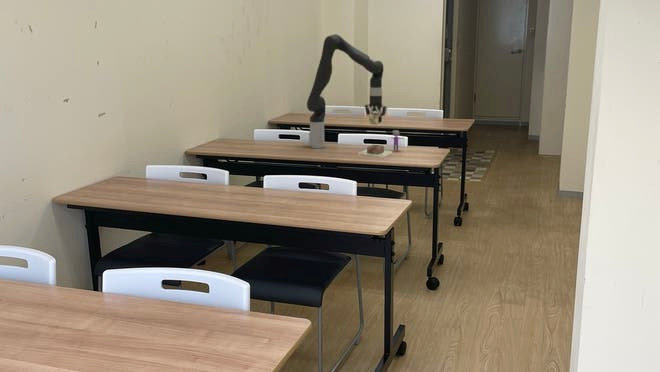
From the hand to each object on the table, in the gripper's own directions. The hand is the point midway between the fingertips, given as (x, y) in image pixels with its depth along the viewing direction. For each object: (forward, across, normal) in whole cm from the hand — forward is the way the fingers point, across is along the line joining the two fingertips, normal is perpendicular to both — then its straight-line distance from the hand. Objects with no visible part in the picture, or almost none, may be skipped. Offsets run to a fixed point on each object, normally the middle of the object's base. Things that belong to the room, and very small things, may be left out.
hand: (375, 121), depth 382 cm
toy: (+21, +10, +9) cm, 25 cm away
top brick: (+1, 0, 0) cm, 1 cm away
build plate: (+21, 0, 0) cm, 21 cm away
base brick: (+19, 0, 0) cm, 19 cm away
